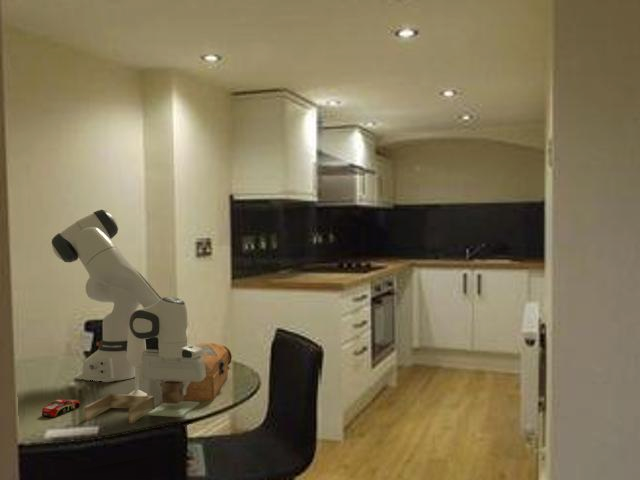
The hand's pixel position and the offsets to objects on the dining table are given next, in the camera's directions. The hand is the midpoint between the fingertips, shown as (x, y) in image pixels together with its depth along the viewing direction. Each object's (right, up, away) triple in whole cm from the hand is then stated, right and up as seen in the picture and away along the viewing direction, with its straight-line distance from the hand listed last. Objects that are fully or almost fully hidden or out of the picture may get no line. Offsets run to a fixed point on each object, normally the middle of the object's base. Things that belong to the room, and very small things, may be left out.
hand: (173, 394), depth 194 cm
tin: (+3, -4, +60) cm, 61 cm away
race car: (-34, -5, -2) cm, 35 cm away
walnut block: (0, -2, 0) cm, 2 cm away
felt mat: (0, -5, 0) cm, 5 cm away
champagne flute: (-16, -5, +16) cm, 24 cm away
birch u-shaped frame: (-15, -5, -5) cm, 17 cm away
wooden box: (+4, -5, +25) cm, 26 cm away
